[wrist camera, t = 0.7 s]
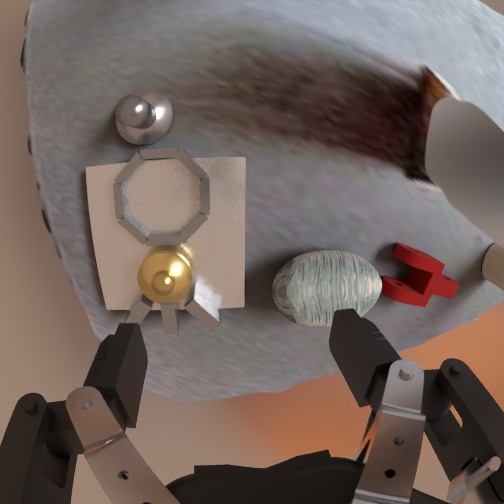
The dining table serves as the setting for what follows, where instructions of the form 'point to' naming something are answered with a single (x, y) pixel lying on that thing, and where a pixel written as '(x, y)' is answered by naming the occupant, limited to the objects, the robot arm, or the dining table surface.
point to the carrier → (169, 234)
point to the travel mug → (494, 265)
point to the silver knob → (144, 116)
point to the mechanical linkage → (418, 278)
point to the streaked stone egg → (325, 286)
